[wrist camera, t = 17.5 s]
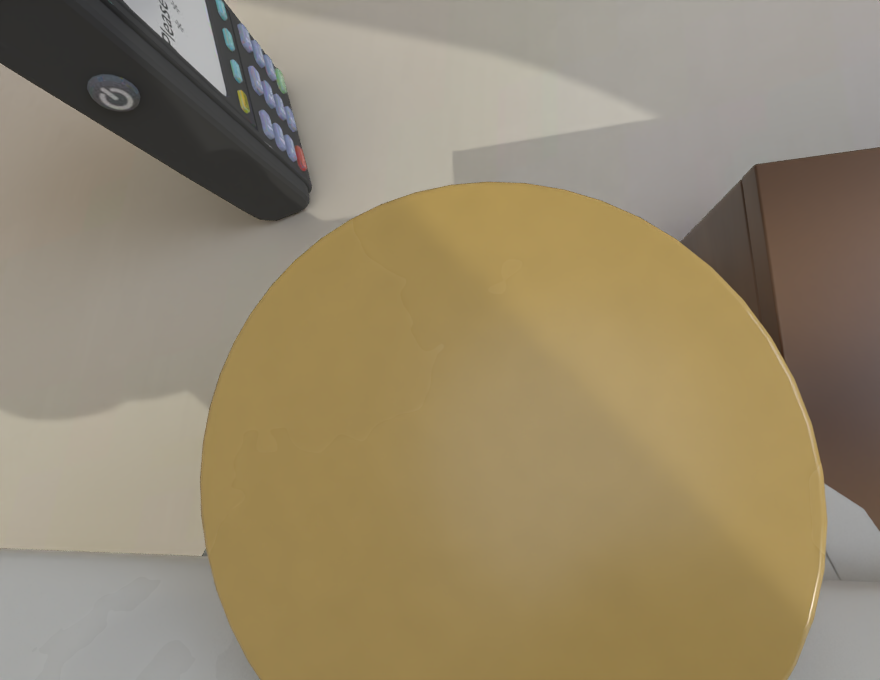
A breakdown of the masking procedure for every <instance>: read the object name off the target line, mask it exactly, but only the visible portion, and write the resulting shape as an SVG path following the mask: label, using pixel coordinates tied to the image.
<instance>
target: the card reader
mask: <svg viewBox="0 0 880 680" xmlns="http://www.w3.org/2000/svg"><path fill="white" fill-rule="evenodd" d="M0 63H1V64H3V65H4V66H6V67H7V68H9V69H11V70H12V71H14V72H16V73H17V74H19V75H20V76H22V77H24V78H25V79H27V80H29V81H30V82H32V83H33V84H35V85H37V86H38V87H40V88H42V89H43V90H45V91H47V92H48V93H50V94H51V95H53V96H55V97H56V98H58V99H60V100H61V101H63V102H64V103H66V104H68V105H69V106H71V107H73V108H74V109H76V110H78V111H79V112H81V113H82V114H84V115H86V116H87V117H89V118H91V119H92V120H94V121H96V122H97V123H99V124H100V125H102V126H104V127H105V128H107V129H109V130H110V131H112V132H114V133H115V134H117V135H118V136H120V137H122V138H123V139H125V140H127V141H128V142H130V143H132V144H133V145H135V146H136V147H138V148H140V149H141V150H143V151H145V152H146V153H148V154H150V155H151V156H153V157H154V158H156V159H158V160H159V161H161V162H163V163H164V164H166V165H168V166H169V167H171V168H172V169H174V170H176V171H177V172H179V173H181V174H182V175H184V176H186V177H187V178H189V179H190V180H192V181H194V182H195V183H197V184H199V185H201V186H202V187H204V188H206V189H207V190H209V191H211V192H213V193H214V194H216V195H218V196H219V197H221V198H223V199H224V200H226V201H228V202H230V203H231V204H233V205H235V206H236V207H238V208H240V209H242V210H243V211H245V212H247V213H248V214H250V215H252V216H253V217H256V218H258V219H261V220H279V219H281V218H284V217H286V216H288V215H291V214H293V213H296V212H298V211H301V210H303V209H305V208H306V207H307V205H308V204H309V200H310V199H309V193H310V191H311V181H310V178H309V174H308V170H307V166H306V162H305V158H304V154H303V151H302V147H301V143H300V139H299V136H298V132H297V128H296V124H295V120H294V116H293V113H292V109H291V105H290V101H289V98H288V94H287V90H286V86H285V82H284V78H283V75H282V73H281V72H280V70H279V69H278V68H276V67H275V66H274V64H273V63H272V61H271V59H270V58H269V56H268V55H266V54H265V53H264V51H263V50H262V49H261V47H260V45H259V44H258V43H257V41H256V40H254V39H253V37H252V36H251V35H250V33H249V32H248V30H247V29H246V27H245V26H244V25H243V24H242V23H241V22H240V21H239V19H238V18H237V17H236V16H235V14H234V13H233V12H232V10H231V9H230V8H229V7H228V5H227V4H226V3H225V1H224V0H0Z"/></svg>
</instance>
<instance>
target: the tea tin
mask: <svg viewBox="0 0 880 680" xmlns="http://www.w3.org/2000/svg"><path fill="white" fill-rule="evenodd" d="M200 488H201V516H202V523H203V530H204V538H205V545H206V552H207V556H208V560H209V564H210V568H211V572H212V576H213V579H214V583H215V587H216V591H217V593H218V596H219V599H220V601H221V604H222V607H223V609H224V612H225V614H226V617H227V620H228V622H229V625H230V627H231V629H232V631H233V633H234V635H235V637H236V639H237V641H238V643H239V645H240V647H241V649H242V651H243V653H244V655H245V657H246V659H247V661H248V662H249V664H250V665H251V667H252V668H253V670H254V671H255V673H256V674H257V676H258V677H259V679H260V680H788V678H789V676H790V675H791V673H792V671H793V670H794V668H795V666H796V664H797V662H798V659H799V656H800V654H801V651H802V649H803V646H804V644H805V641H806V638H807V636H808V633H809V631H810V628H811V625H812V623H813V620H814V617H815V612H816V608H817V603H818V598H819V594H820V589H821V584H822V580H823V575H824V570H825V554H826V538H827V522H828V521H827V510H826V498H825V487H824V475H823V469H822V465H821V460H820V456H819V452H818V448H817V443H816V439H815V435H814V430H813V426H812V423H811V420H810V418H809V415H808V413H807V410H806V407H805V405H804V402H803V400H802V397H801V394H800V392H799V389H798V387H797V384H796V382H795V379H794V377H793V375H792V374H791V372H790V370H789V368H788V366H787V365H786V363H785V361H784V359H783V357H782V356H781V354H780V352H779V350H778V348H777V347H776V345H775V343H774V341H773V339H772V338H771V336H770V335H769V333H768V332H767V331H766V329H765V328H764V327H763V325H762V324H761V323H760V321H759V320H758V319H757V317H756V316H755V315H754V313H753V312H752V311H751V309H750V308H749V307H748V305H747V304H746V303H745V301H744V300H743V299H742V298H741V297H740V296H739V295H738V294H737V293H736V292H735V291H734V290H733V289H732V288H731V287H730V286H729V284H728V283H727V282H726V281H725V280H724V279H723V278H722V277H721V276H720V275H719V274H718V273H717V272H716V271H715V270H714V269H713V268H712V267H711V266H709V265H708V264H707V263H706V262H704V261H703V260H702V259H701V258H699V257H698V256H697V255H696V254H694V253H693V252H692V251H691V250H689V249H688V248H687V247H686V246H684V245H683V244H682V243H680V242H679V241H678V240H677V239H675V238H673V237H672V236H670V235H668V234H667V233H665V232H663V231H662V230H660V229H658V228H657V227H655V226H653V225H652V224H650V223H648V222H647V221H645V220H643V219H642V218H640V217H638V216H635V215H633V214H631V213H628V212H626V211H624V210H622V209H619V208H617V207H615V206H613V205H610V204H608V203H606V202H603V201H601V200H597V199H594V198H590V197H587V196H584V195H580V194H577V193H574V192H570V191H567V190H563V189H557V188H551V187H545V186H539V185H533V184H527V183H505V182H480V183H468V184H457V185H448V186H444V187H439V188H434V189H430V190H425V191H420V192H416V193H413V194H410V195H407V196H404V197H401V198H398V199H395V200H392V201H390V202H387V203H384V204H381V205H379V206H377V207H375V208H373V209H371V210H369V211H367V212H365V213H363V214H361V215H359V216H357V217H355V218H353V219H351V220H349V221H347V222H346V223H344V224H343V225H341V226H340V227H338V228H337V229H335V230H334V231H332V232H330V233H329V234H327V235H326V236H324V237H323V238H321V239H320V240H319V241H318V242H316V243H315V244H314V245H313V246H312V247H310V248H309V249H308V250H307V251H306V252H305V253H303V254H302V255H301V256H300V257H299V258H297V259H296V260H295V261H294V262H293V263H292V264H291V265H290V266H289V267H288V268H287V269H286V271H285V272H284V273H283V274H282V275H281V276H280V277H279V278H278V279H277V280H276V281H275V282H274V283H273V284H272V285H271V287H270V288H269V289H268V291H267V292H266V293H265V295H264V296H263V297H262V299H261V300H260V302H259V303H258V304H257V306H256V307H255V308H254V310H253V311H252V312H251V314H250V316H249V317H248V319H247V321H246V322H245V324H244V326H243V328H242V329H241V331H240V333H239V335H238V336H237V338H236V340H235V341H234V343H233V346H232V348H231V350H230V353H229V355H228V357H227V359H226V362H225V364H224V366H223V369H222V371H221V373H220V376H219V379H218V382H217V386H216V389H215V392H214V395H213V399H212V402H211V405H210V409H209V414H208V419H207V425H206V430H205V435H204V440H203V450H202V462H201V475H200Z"/></svg>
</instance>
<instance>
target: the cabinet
mask: <svg viewBox="0 0 880 680" xmlns="http://www.w3.org/2000/svg"><path fill="white" fill-rule="evenodd" d="M680 243H682V244H683V245H684V246H686V247H687V248H688V249H689V250H691V251H692V252H693V253H694V254H696V255H697V256H698V257H699V258H701V259H702V260H703V261H704V262H706V263H707V264H708V265H709V266H711V267H712V268H713V269H714V270H715V271H716V272H717V273H718V274H719V275H720V276H721V277H722V278H723V279H724V280H725V281H726V282H727V283H728V284H729V286H730V287H731V288H732V289H733V290H734V291H735V292H736V293H737V294H738V295H739V296H740V297H741V298H742V299H743V300H744V301H745V303H746V304H747V305H748V307H749V308H750V309H751V311H752V312H753V313H754V315H755V316H756V317H757V319H758V320H759V321H760V323H761V324H762V325H763V327H764V328H765V329H766V331H767V332H768V333H769V335H770V336H771V338H772V339H773V341H774V343H775V345H776V347H777V348H778V350H779V352H780V354H781V356H782V357H783V359H784V361H785V363H786V365H787V366H788V368H789V370H790V372H791V374H792V375H793V377H794V379H795V382H796V384H797V387H798V389H799V392H800V394H801V397H802V400H803V402H804V405H805V407H806V410H807V413H808V415H809V418H810V420H811V423H812V426H813V430H814V435H815V439H816V443H817V448H818V452H819V456H820V460H821V465H822V469H823V475H824V484H826V485H828V486H829V487H831V488H832V489H834V490H835V491H837V492H838V493H840V494H841V495H843V496H845V497H846V498H848V499H849V500H851V501H852V502H854V503H855V504H857V505H858V506H860V507H862V508H863V509H864V510H865V511H866V513H867V514H868V516H869V517H870V518H871V520H872V521H873V523H874V524H875V526H876V527H877V528H878V530H879V531H880V147H878V148H871V149H864V150H856V151H849V152H842V153H835V154H828V155H820V156H813V157H806V158H799V159H791V160H784V161H777V162H770V163H762V164H756V165H754V166H753V167H752V168H751V169H750V170H749V171H748V172H747V173H746V174H745V175H744V176H743V178H742V180H740V181H739V182H738V183H737V184H736V185H735V186H734V187H733V188H732V189H731V190H730V191H729V192H728V193H727V194H726V195H725V196H724V198H723V199H722V200H721V201H720V202H719V203H718V204H717V205H716V206H715V207H714V208H713V209H712V210H711V211H710V212H709V213H708V214H707V215H706V216H705V217H704V218H703V219H702V220H701V221H700V222H699V223H698V224H697V225H696V226H695V227H694V228H693V229H692V230H691V231H690V232H689V233H688V234H687V236H686V237H685V238H684V239H683V240H682V241H681V242H680Z"/></svg>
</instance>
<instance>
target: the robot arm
mask: <svg viewBox="0 0 880 680" xmlns="http://www.w3.org/2000/svg"><path fill="white" fill-rule="evenodd" d="M824 487H825V498H826V510H827V521H828V522H827V538H826V554H825V570H824V575H823V580H822V584H821V589H820V594H819V598H818V603H817V608H816V612H815V617H814V620H813V623H812V625H811V628H810V631H809V633H808V636H807V638H806V641H805V644H804V646H803V649H802V651H801V654H800V656H799V659H798V662H797V664H796V666H795V668H794V670H793V671H792V673H791V675H790V676H789V678H788V680H880V531H879V530H878V528H877V527H876V526H875V524H874V523H873V521H872V520H871V518H870V517H869V516H868V514H867V513H866V511H865V510H864V509H863V508H862V507H860V506H858V505H857V504H855V503H854V502H852V501H851V500H849V499H848V498H846V497H845V496H843V495H841V494H840V493H838V492H837V491H835V490H834V489H832V488H831V487H829V486H828V485H826V484H824ZM0 680H260V679H259V677H258V676H257V674H256V673H255V671H254V670H253V668H252V667H251V665H250V664H249V662H248V661H247V659H246V657H245V655H244V653H243V651H242V649H241V647H240V645H239V643H238V641H237V639H236V637H235V635H234V633H233V631H232V629H231V627H230V625H229V622H228V620H227V617H226V614H225V612H224V609H223V607H222V604H221V601H220V599H219V596H218V593H217V591H216V587H215V583H214V579H213V576H212V572H211V568H210V564H209V560H208V556H207V552H206V549H205V551H204V553H203V555H202V556H186V555H161V554H136V553H110V552H85V551H59V550H34V549H11V548H0Z"/></svg>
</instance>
